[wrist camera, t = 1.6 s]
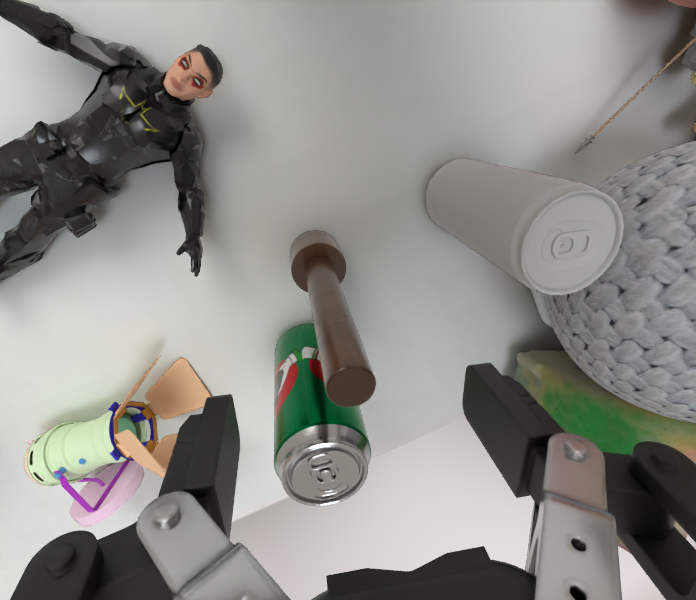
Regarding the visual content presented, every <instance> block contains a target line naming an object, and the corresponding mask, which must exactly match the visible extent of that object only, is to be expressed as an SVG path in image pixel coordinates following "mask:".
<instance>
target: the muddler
mask: <svg viewBox="0 0 696 600" xmlns="http://www.w3.org/2000/svg"><path fill="white" fill-rule="evenodd" d="M290 260H291V271H292V276H293V279H294V281H295V282H296V284H297V285H298V286H299V287H300V288H301V289H303V290H304V291H306V292H308V293H309V299H310V304H311V310H312V316H313V321H314V327H315V333H316V338H317V344H318V350H319V355H320V361H321V367H322V372H323V378H324V384H325V389H326V394H327V396H328V398H329V399H330V400H331V401H332V402H333V403H334V404H336V405H338V406H342V407H355V406H358V405H361V404H363V403H364V402H366V401H367V400H368V399H369V398H370V397H371V396H372V394H373V393H374V390H375V386H376V380H375V377H374V374H373V371H372V369H371V366H370V363H369V360H368V358H367V355H366V352H365V350H364V347H363V344H362V342H361V339H360V336H359V334H358V331H357V328H356V326H355V323H354V320H353V318H352V315H351V312H350V309H349V307H348V304H347V301H346V299H345V296H344V293H343V291H342V288H341V285H340V283H341V282H342V280H343V278H344V276H345V272H346V263H345V259H344V257H343V255H342V253H341V250H340V248H339V246H338V244H337V242H336V241H335V239H334V238H333V237H332V236H331V235H329V234H327V233H325V232H323V231H318V230H313V231H308V232H305V233H303V234H301V235H300V236H299V237H298V238H297V239H296V240H295V241H294V243H293V244H292V247H291V250H290Z"/></svg>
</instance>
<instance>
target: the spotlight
mask: <svg viewBox="0 0 696 600" xmlns="http://www.w3.org/2000/svg"><path fill="white" fill-rule="evenodd" d="M160 356H161V355H160ZM160 356H159V357H160ZM159 357H158V358H157V359H156V360H155V362H154V363H153V364H152V365H151V366H150V368H149V369H148V370H147V371H146V372H145V374H144V375H143V376H142V377H141V378H140V380H139V381H138V382H137V383H136V385H135V386H134V387H133V388H132V389H131V391H130V392H129V393H128V395H127V396H126V397H125V399H124V401H123V403H122V404H120V405H119V404H118V403H117V402H114V403H113V404H112V405H111V407H110V408H109V409H108V410H110V411H109V412H107V413H105V414H103V415H102V416H101V417H99V418H96V419H94V420H91V421H88V422H85V421H84V422H72V421H71V422H64V423H61V424H59V425H57V426H56V427H54V428H53V429H52V430H50V431H47V432H45V433H43V434H41V435H40V436H38V437H37V438H36V439H35V440H32V441H31V440H29V439H27V440H26V442H28V443H29V447H28V448H27V450H26V453H25V456H24V469H25V472H26V474H27V475H28V477H29V478H30V479H31V480H32V481H33V482H35V483H37V484H40V485H46V486H55V485H59V484H62V487H63V488H64V489H65V490H66V491H67V492H68V493H69V494H70V495H71V496H72V497H73V498H74V501H73V503H72V505H71V508H70V516H71V517H72V518H73V519H74V520H75V521H76V522H77V523H78V524H79V525H80V526H84V527H85V526H91V525H94V524H96V523H99V522H101V521H102V520H104V519H106V518H107V517H109V516H110V515H112V514H113V513H114V512H116V511H117V510H118V509H119V508H120V507H122V506H123V505H124V504H125V503H126V502H127V501H128V500H129V499H130V498H131V496H132V495H133V494H134V493H135V491H136V490H137V489H138V487H139V485H140V484H141V482H142V479H143V476H144V470H143V468H142V467H141V466H143V467H145V468H147V469H148V470H150V471H152V472H154V473H155V474H157V475H159V476H161V477H162V478H164V477H165V473H166V472H165V471H164V470H163V469H165V470H167V467H168V464H169V461H170V458H171V455H172V451H173V448H174V445H175V444H176V439H177V436H178V434H171V435H167V436H165V437H163V439H162V440H161V442H157V441H158V435H157V422H156V417H155V416H156V415H157V414H158V415H159V416H160V417H161V418H162V419H170V418H173V417H176V416H179V415H182V414H185V413H187V412H190V411H193V410H196V409H199V408H202V407H204V406H205V402H206V399H207V397H212V396H211V395H210V393H209V392H208V391H207V389H206V388H205V386H204V385H203V383H202V382H201V380H200V379H199V378H198V376H197V375H196V373H195V372H194V370H193V369H192V367H191V366H190V365H189V363H188V362H187V360H185V359H182V358H180V359H178V360H177V361H176V362H175V363H174V364H173V365H172V366H171V367H170V368H169V369H168V371H167V372H166V373H165V374H164V375H163V376H162V377H161V378H160V379H159V380H158V381H157V382H156V383H155V384H154V385H153V386H152V387H151V388H150V389H149V390H148V392H147V393H146V395H145V397H146V399H147V400H148V402H149V403H146V405H145V403H144V402H134V401H129V400H130V399H131V398H132V396H133V395H134V394H135V392H136V391H137V389H138V388H139V386H140V385H141V383H142V382H143V381H144V379H145V378H146V376H147V375H148V373H149V372H150V370H151V369H152V368H153V366H154V365H155V363H156V362H157V360H158V359H159ZM148 405H149V406H150V407H151V408H150V407H149V406H148ZM129 407H133V408H137V409H139V410H141V413H137V412H136V411H135V410H132V409H128V408H129ZM151 409H152V410H153V411H154V412H153V411H152V410H151ZM154 413H155V414H154ZM152 417H153V418H152ZM146 419H147V420H148V421H149V424H150V429H151V436H150V440H149V441H146V437H147V431H146V425H145V423H144V420H146ZM154 441H155V442H154ZM156 442H157V443H156ZM156 445H157V446H156ZM155 447H156V448H155ZM109 463H114V464H112V465H111V466H109V467H107V468H106V469H104V470H103V471H102V472H100V473H99V474H98V475H96V476H95V477H94V478H85V477H86V476H87V475H88V474H89V473H90V472H92V471H94V470H95V469H96V468H98V467H100V466H103V465H106V464H109ZM140 465H141V466H140ZM162 468H163V469H162ZM89 481H90V482H89ZM75 482H89V483H88V484H87V485H86V486H85V487H84V488H83V489H82V490H81V491H80V492H79V494H78V493H77V492H76V491H75V490H74V489H73V488H72V487H71V486H70V485H69V483H75Z"/></svg>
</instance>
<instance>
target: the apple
mask: <svg viewBox="0 0 696 600" xmlns="http://www.w3.org/2000/svg"><path fill="white" fill-rule="evenodd" d="M667 1H669V2H671V3H673V4H676V5H680V6H684V7H689V8H696V0H667Z"/></svg>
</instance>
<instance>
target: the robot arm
mask: <svg viewBox="0 0 696 600" xmlns="http://www.w3.org/2000/svg"><path fill="white" fill-rule="evenodd" d="M463 410H464V414H465V416H466V419H467V420H468V422H469V423H470V425H471V427H472V428H473V430H474V431H475V433H476V434H477V436H478V438H479V439H480V441H481V442H482V444H483V445H484V447H485V449H486V450H487V452H488V453H489V455H490V457H491V458H492V460H493V461H494V463H495V465H496V466H497V468H498V469H499V471H500V472H501V474H502V475H503V477H504V479H505V480H506V482H507V483H508V485H509V487H510V488H511V490H512V491H513V493H514V494H515V496H516V497H517V498H518V497H524V496H529V495H531V496H532V498H533V500H534V501H535V502H534V507H533V512H532V520H531V528H530V536H529V544H528V552H527V560H526V566H525V570H523V569H521V568H518V567H516V566H514V565H511V564H508V563H505V562H500V561H496V560H490V558H489V556H488V554H487V552H486V550H485V548H484V546H482V547H477V548H472V549H467V550H461V551H456V552H451V553H446V554H444V555H442V556H441V557H438V558H437V559H435V560H433V561H431V562H429V563H427V564H425V565H423V566H421V567H419V568H417V569H415V570H413V571H409V572H405V571H394V570H381V569H370V568H366V569H360V570H355V571H349V572H344V573H339V574H333V575H328V576H327V586H328V590H327V591H325V592H323V593H321V594H319V595H318V596H316V597H315V598H313V599H312V600H622V593H621V581H620V569H619V556H618V543H617V535H618V537H619V538H620V539H621V540H622V542H623V543H624V544H625V546H626V547H627V548H628V550H629V551H630V552H631V554H632V555H633V556H634V558H635V559H636V560H637V561H638V563H639V564H640V566H641V567H642V568H643V570H644V571H645V572H646V574H647V575H648V576H649V578H650V579H651V580H652V582H653V583H654V584H655V586H656V587H657V588H658V589H659V591H660V592H661V594H662V595H663V596H664V598H665V599H666V600H696V550H695V549H694V547H693V546H692V545H691V544H690V543H689V542H688V541H687V540H686V539H685V538H684V536H683V535H682V534H681V533H680V532H679V531H678V530H677V529H676V528H675V527H674V524H675V522H677V523H678V524H679V525H680V526H681V527H682V528H683V529H684V530H685V531H686V532H687V533H688V534H689V536H690V537H691V538H692V539H693V540H694V541H695V542H696V464H695V463H694V462H693V461H692V460H690V459H689V458H688V457H687V456H686V455H684V454H683V453H681V452H680V451H678V450H676V449H675V448H672V447H670V446H668V445H665V444H662V443H658V442H652V441H643V442H640V443H637V444H636V445H635V446H634V449H633V451H632V454H631V455H628V454H619V453H609V452H602V451H601V450H600V449H599V447H598V446H597V445H595V444H594V443H593V442H591V441H590V440H588V439H586V438H584V437H582V436H579V435H576V434H572V433H566V432H565V431H564V430H563V429H562V427H561V426H560V425H559V424H558V423H557V422H556V421H555V420H554V419H553V418H552V417H551V416H550V415H549V413H548V412H547V411H546V410H545V409H544V408H543V407H542V406H541V405H540V404H538V402H537V400H536V399H535V398H534V397H533V396H531V395H530V393H529V392H528V391H527V390H526V389H525V387H524V386H523V385H522V384H521V383H519V382H517V381H516V380H514V379H512V378H511V377H509V376H507V375H506V376H502V375H501V374H500V373H499V372H498V371H497V369H496V368H495V367H494V366H493V365H492V364H491V363H484V364H476V365H469V366H468V367H467V368H466V374H465V383H464V392H463ZM239 452H240V437H239V429H238V424H237V419H236V413H235V408H234V403H233V398H232V395H231V394H229V395H220V396H212V397H207V399H206V402H205V406H204V409H203V413H202V414H198V415H190V417H189V418H188V419H187V420H186V421H185V423H184V424H183V425H182V426H181V427H180V429H179V432H178V436H177V439H176V444H175V445H174V448H173V451H172V455H171V458H170V461H169V464H168V467H167V470H166V473H165V477H164V480H163V483H162V486H161V489H160V492H159V496H158V498H157V499H155V500H154V501H152V502H151V503H150V504H149V505H148V506H147V507H146V508H145V509H144V510H143V511H142V513H141V514H140V516H139V518H138V521H137V522H135V523H134V524H132V525H130V526H129V527H126V528H124V529H122V530H120V531H117V532H115V533H113V534H110V535H108V536H106V537H103V538H101V539H99V540H97V539H96V537H95V536H94V535H93V534H92V533H90V532H88V531H73V532H70V533H67V534H64V535H62V536H60V537H58V538H56V539H54V540H53V541H51V542H49V543H48V544H47V545H45V546H44V547H43V548H42V549H41V550H40V551H38V553H37V554H36V555H35V556H34V557H33V558H32V559H31V561H30V562H29V564H28V566H27V567H26V569H25V571H24V573H23V575H22V577H21V579H20V581H19V583H18V585H17V587H16V589H15V591H14V593H13V595H12V597H11V599H10V600H290V599H289V597H288V596H287V595H286V594H285V593H284V592H283V590H282V589H281V588H280V587H279V586H278V584H277V583H276V582H275V581H274V580H273V578H272V577H271V576H270V575H269V574H268V573H267V571H266V570H265V569H264V568H263V567H262V566H261V565H260V563H259V562H258V561H257V560H256V558H254V556H253V555H252V554H251V553H250V551H249V550H248V549H247V548H246V547H245V546H244V545H243V544H241V543H237V544H236V545H234V544H233V543H231V541H230V540H229V539H230V530H231V522H232V513H233V504H234V495H235V487H236V478H237V469H238V460H239Z"/></svg>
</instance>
